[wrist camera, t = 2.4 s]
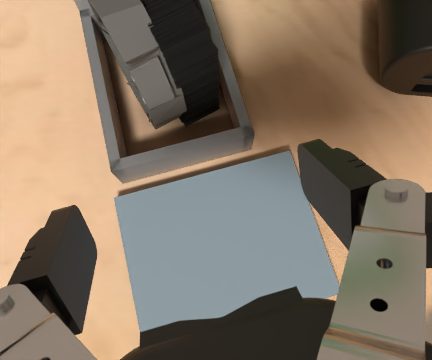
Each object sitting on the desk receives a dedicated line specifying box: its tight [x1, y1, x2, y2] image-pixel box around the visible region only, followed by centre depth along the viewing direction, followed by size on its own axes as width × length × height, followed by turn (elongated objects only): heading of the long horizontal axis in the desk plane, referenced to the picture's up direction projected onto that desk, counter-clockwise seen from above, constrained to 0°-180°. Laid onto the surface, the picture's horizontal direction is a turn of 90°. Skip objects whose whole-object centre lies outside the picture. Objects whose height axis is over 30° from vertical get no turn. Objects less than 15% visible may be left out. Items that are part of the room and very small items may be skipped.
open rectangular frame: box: [74, 0, 254, 183], centre depth 24 cm, size 11×16×14 cm
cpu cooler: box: [88, 0, 220, 129], centre depth 25 cm, size 10×6×10 cm, turn 29°
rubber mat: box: [114, 150, 339, 332], centre depth 26 cm, size 14×11×1 cm
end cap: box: [378, 0, 432, 97], centre depth 28 cm, size 10×7×7 cm
